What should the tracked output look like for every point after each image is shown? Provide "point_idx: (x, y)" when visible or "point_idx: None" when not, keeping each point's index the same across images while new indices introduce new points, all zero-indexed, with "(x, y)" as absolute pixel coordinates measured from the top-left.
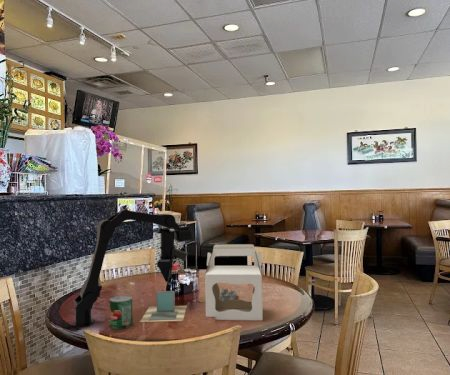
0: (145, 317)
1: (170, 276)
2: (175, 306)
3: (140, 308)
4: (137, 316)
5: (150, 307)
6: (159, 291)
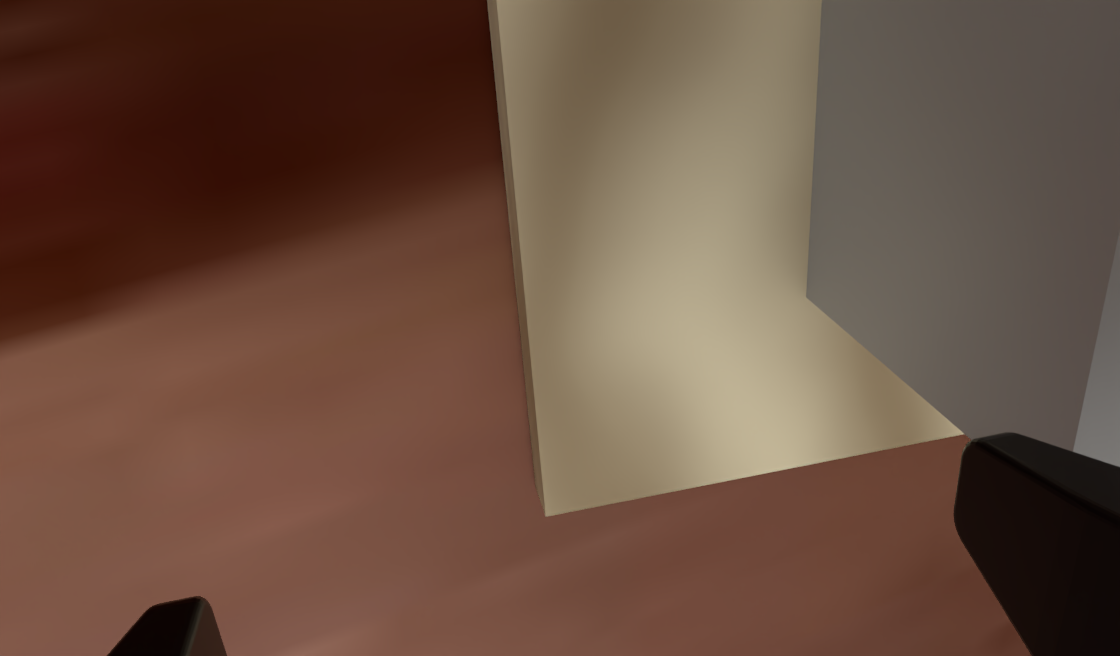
0: None
1: (199, 640)
2: (532, 4)
3: (475, 631)
4: (842, 522)
5: (590, 482)
6: (1093, 453)
